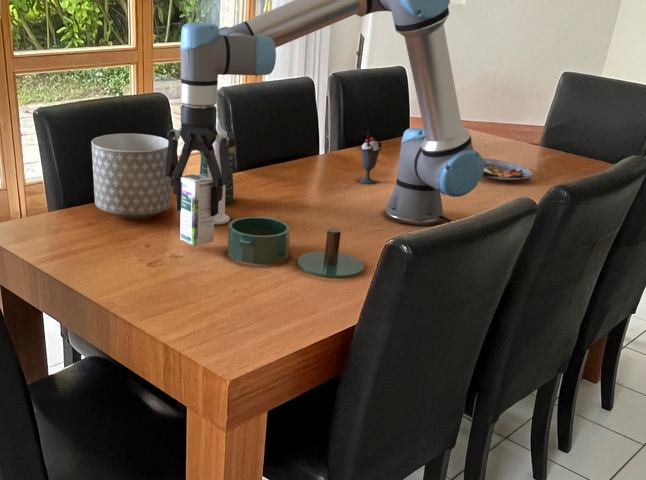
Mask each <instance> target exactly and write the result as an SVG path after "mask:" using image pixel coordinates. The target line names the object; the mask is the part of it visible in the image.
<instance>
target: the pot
mask: <svg viewBox="0 0 646 480" xmlns="http://www.w3.org/2000/svg"><path fill="white" fill-rule="evenodd" d="M227 225H228V227H227V256H228V257H230V258H231V259H233V260H235V261H238V262H241V263H244V264H250V265H271V264H278V263H281V262H283V261H285V260H286V259H287V258H288V257H289V249H290V235H291V228H290V225H289V224H287V223H286V222H284V221H281V220H279V219H278V218H275V217H271V216H270V217H269V216H267V217H263V216H246V217H239V218H237V219H233V220H231V221H229V222H228V223H227Z"/></svg>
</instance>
